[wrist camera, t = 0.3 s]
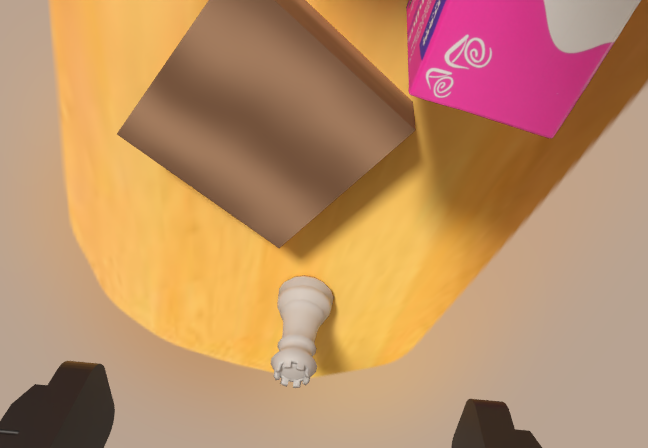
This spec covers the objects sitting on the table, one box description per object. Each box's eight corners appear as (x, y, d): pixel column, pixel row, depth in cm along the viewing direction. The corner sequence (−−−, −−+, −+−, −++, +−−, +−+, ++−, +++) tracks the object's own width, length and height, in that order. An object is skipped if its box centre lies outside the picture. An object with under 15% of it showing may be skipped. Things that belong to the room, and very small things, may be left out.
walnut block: (253, -53, 26) (234, -37, 23) (412, 99, 30) (415, 130, 27) (143, 104, 32) (116, 134, 29) (288, 212, 36) (278, 248, 33)
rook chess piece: (309, 318, 42) (295, 403, 36) (268, 291, 41) (246, 374, 34) (345, 294, 40) (337, 379, 34) (303, 263, 38) (287, 347, 32)
